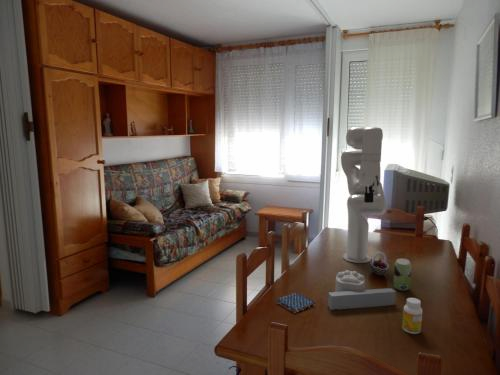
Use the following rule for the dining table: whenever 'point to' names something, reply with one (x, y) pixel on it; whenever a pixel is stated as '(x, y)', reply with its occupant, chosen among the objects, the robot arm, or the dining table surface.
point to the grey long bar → (361, 298)
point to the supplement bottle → (412, 316)
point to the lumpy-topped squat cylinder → (349, 281)
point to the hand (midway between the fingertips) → (368, 202)
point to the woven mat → (295, 302)
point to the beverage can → (402, 274)
